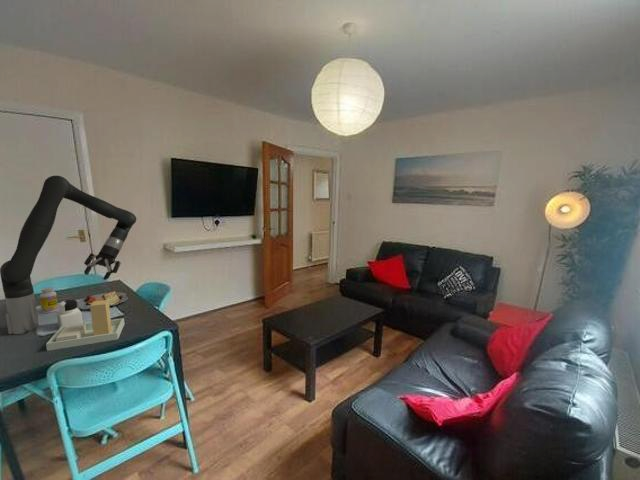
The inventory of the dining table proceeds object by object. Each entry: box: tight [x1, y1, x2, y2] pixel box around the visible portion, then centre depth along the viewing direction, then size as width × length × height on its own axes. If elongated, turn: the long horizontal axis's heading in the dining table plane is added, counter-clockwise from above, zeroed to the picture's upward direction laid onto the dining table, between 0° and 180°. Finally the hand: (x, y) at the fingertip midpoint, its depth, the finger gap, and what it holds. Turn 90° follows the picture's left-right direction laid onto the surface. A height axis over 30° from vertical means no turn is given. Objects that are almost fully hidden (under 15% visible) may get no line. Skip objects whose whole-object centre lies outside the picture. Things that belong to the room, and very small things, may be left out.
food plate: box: [77, 290, 129, 310], centre depth 169 cm, size 25×23×4 cm
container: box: [56, 299, 84, 328], centre depth 138 cm, size 8×8×13 cm
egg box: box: [56, 322, 86, 342], centre depth 127 cm, size 7×12×4 cm, turn 25°
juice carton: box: [89, 300, 112, 336], centre depth 130 cm, size 6×6×15 cm
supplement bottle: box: [39, 286, 59, 314], centre depth 155 cm, size 7×7×13 cm
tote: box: [45, 317, 126, 352], centre depth 129 cm, size 24×16×4 cm, turn 115°
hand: (95, 277), depth 142 cm, fingers open, 8 cm apart
